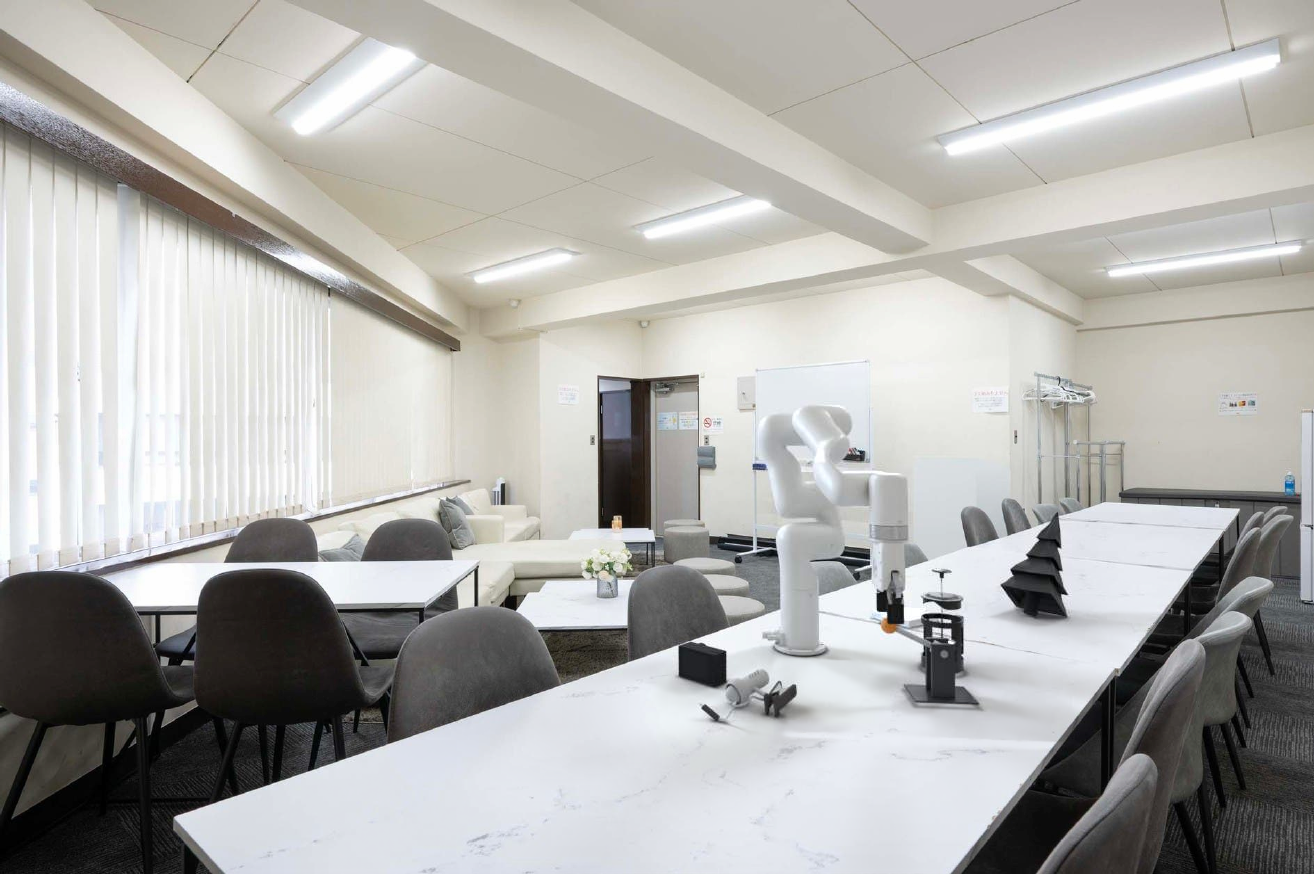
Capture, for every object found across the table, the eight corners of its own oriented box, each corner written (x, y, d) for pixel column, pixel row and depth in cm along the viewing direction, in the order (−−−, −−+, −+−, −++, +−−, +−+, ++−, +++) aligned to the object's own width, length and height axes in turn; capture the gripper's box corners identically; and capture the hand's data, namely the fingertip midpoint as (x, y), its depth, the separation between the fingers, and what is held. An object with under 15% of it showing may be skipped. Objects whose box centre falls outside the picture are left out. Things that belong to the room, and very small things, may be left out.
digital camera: (730, 681, 149) (730, 649, 149) (715, 687, 145) (715, 655, 145) (694, 670, 156) (694, 639, 156) (678, 676, 152) (678, 645, 152)
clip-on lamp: (735, 747, 123) (802, 703, 133) (731, 716, 122) (799, 674, 132) (693, 720, 133) (759, 680, 143) (690, 690, 131) (756, 653, 141)
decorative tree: (1065, 629, 199) (1091, 526, 211) (1047, 606, 191) (1076, 501, 204) (1013, 619, 210) (1040, 522, 223) (994, 597, 203) (1024, 497, 215)
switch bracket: (915, 706, 134) (915, 646, 134) (903, 689, 143) (903, 633, 143) (979, 709, 133) (978, 648, 133) (963, 692, 142) (963, 635, 142)
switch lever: (879, 631, 138) (886, 617, 138) (876, 626, 141) (883, 613, 141) (945, 662, 136) (952, 648, 136) (940, 657, 140) (947, 643, 139)
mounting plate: (905, 610, 209) (905, 604, 209) (943, 619, 198) (943, 613, 198) (865, 619, 199) (865, 612, 199) (903, 629, 188) (903, 622, 188)
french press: (943, 681, 148) (943, 575, 148) (909, 668, 156) (908, 568, 157) (978, 671, 154) (978, 570, 154) (943, 660, 162) (942, 563, 162)
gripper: (861, 528, 148) (863, 607, 148) (878, 539, 131) (880, 628, 131) (897, 528, 147) (898, 608, 147) (919, 539, 130) (920, 629, 130)
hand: (889, 617), depth 139 cm, fingers open, 9 cm apart
